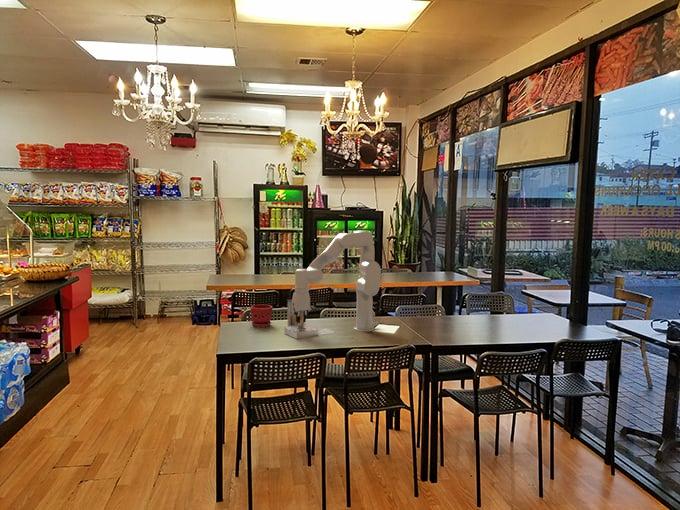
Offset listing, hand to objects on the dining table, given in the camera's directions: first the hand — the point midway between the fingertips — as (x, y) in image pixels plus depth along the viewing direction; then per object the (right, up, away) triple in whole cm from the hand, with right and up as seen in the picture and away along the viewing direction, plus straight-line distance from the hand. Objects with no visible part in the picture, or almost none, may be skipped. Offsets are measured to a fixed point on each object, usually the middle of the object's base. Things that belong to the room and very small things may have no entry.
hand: (300, 322), depth 268 cm
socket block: (0, -7, +1) cm, 7 cm away
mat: (+13, -7, +7) cm, 16 cm away
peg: (0, -3, 0) cm, 3 cm away
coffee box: (-5, -5, +20) cm, 21 cm away
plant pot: (-26, -5, +19) cm, 32 cm away
